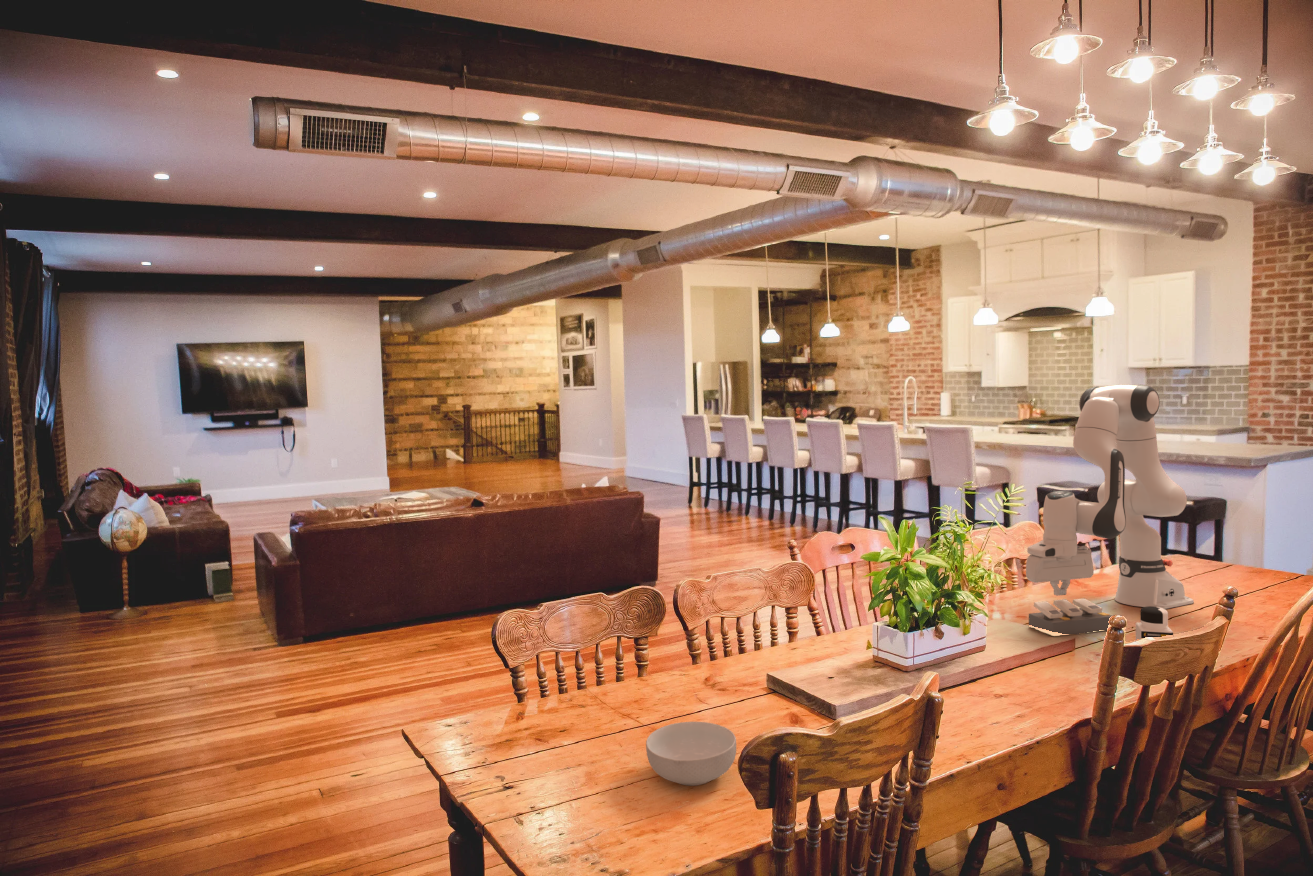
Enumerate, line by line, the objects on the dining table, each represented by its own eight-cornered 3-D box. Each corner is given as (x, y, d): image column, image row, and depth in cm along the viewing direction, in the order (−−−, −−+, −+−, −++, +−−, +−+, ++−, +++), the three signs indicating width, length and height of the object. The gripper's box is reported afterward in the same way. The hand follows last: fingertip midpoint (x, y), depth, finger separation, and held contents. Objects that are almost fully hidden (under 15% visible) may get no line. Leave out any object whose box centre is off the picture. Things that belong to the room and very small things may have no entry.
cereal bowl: (680, 748, 163) (679, 714, 162) (753, 769, 153) (752, 732, 153) (628, 783, 149) (627, 745, 149) (705, 807, 139) (704, 767, 139)
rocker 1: (1045, 604, 235) (1046, 600, 234) (1062, 617, 228) (1063, 613, 228) (1033, 606, 234) (1034, 601, 234) (1049, 618, 227) (1050, 614, 227)
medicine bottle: (1141, 657, 207) (1141, 610, 207) (1135, 648, 214) (1135, 603, 213) (1173, 659, 205) (1173, 612, 204) (1166, 650, 212) (1166, 605, 211)
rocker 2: (1064, 602, 236) (1065, 598, 236) (1081, 615, 230) (1082, 611, 229) (1053, 604, 235) (1053, 599, 235) (1069, 616, 229) (1070, 612, 228)
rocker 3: (1084, 602, 238) (1084, 597, 237) (1101, 612, 231) (1102, 607, 231) (1072, 603, 237) (1072, 599, 237) (1089, 613, 230) (1090, 608, 230)
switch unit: (1087, 620, 240) (1087, 603, 240) (1113, 630, 230) (1113, 612, 230) (1028, 627, 236) (1028, 609, 235) (1052, 637, 226) (1052, 618, 226)
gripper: (1082, 543, 240) (1082, 589, 241) (1022, 548, 235) (1022, 595, 236) (1098, 547, 234) (1098, 594, 234) (1037, 552, 229) (1037, 600, 230)
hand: (1060, 595), depth 235 cm, fingers closed
